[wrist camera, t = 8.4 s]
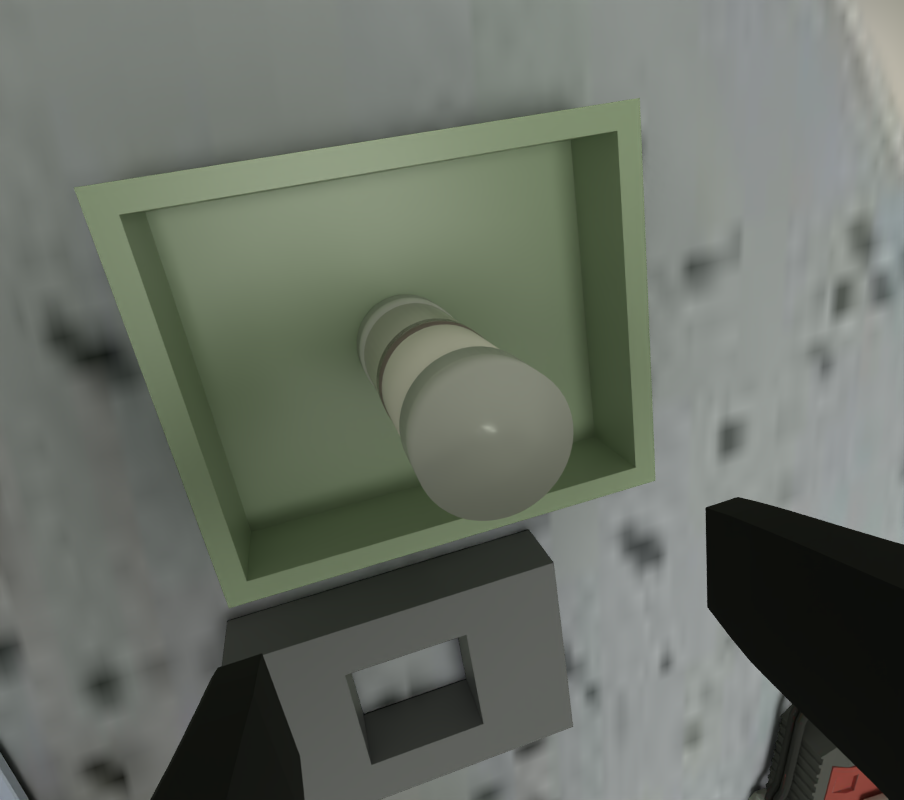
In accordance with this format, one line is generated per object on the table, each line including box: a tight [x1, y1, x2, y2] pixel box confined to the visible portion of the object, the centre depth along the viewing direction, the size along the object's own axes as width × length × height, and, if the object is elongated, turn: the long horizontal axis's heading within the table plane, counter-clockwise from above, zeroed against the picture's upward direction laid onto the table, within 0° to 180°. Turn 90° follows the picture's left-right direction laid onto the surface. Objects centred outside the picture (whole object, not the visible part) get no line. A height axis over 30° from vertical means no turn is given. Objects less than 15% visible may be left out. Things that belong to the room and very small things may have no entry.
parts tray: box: [74, 98, 655, 608], centre depth 16 cm, size 12×10×3 cm
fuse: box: [356, 294, 573, 521], centre depth 13 cm, size 3×3×8 cm
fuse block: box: [222, 530, 573, 800], centre depth 20 cm, size 10×7×2 cm
